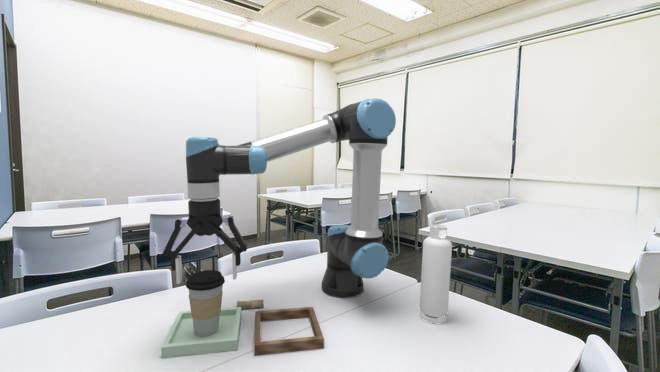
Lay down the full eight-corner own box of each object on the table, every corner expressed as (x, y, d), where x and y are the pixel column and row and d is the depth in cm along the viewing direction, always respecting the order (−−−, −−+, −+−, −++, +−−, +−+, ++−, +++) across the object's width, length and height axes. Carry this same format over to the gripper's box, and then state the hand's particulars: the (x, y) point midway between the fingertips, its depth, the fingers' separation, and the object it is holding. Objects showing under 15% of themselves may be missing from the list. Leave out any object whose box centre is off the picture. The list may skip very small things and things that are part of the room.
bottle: (436, 309, 101) (441, 222, 98) (453, 322, 93) (459, 228, 91) (413, 312, 99) (418, 223, 96) (429, 325, 91) (435, 229, 88)
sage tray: (241, 315, 94) (241, 306, 94) (237, 350, 78) (237, 340, 77) (179, 320, 90) (179, 311, 90) (161, 357, 74) (161, 347, 74)
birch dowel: (263, 308, 100) (263, 301, 101) (263, 305, 98) (263, 297, 100) (236, 310, 98) (237, 303, 100) (236, 307, 96) (237, 299, 98)
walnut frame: (312, 314, 96) (312, 306, 95) (323, 348, 79) (323, 338, 79) (255, 319, 92) (255, 311, 92) (254, 355, 76) (254, 345, 75)
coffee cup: (212, 343, 78) (211, 284, 77) (178, 338, 80) (177, 280, 79) (231, 323, 88) (231, 270, 86) (200, 319, 89) (200, 267, 88)
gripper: (255, 195, 87) (256, 270, 89) (155, 198, 81) (159, 278, 84) (254, 199, 79) (256, 281, 82) (144, 202, 74) (150, 290, 76)
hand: (207, 279), depth 83 cm, fingers open, 13 cm apart
